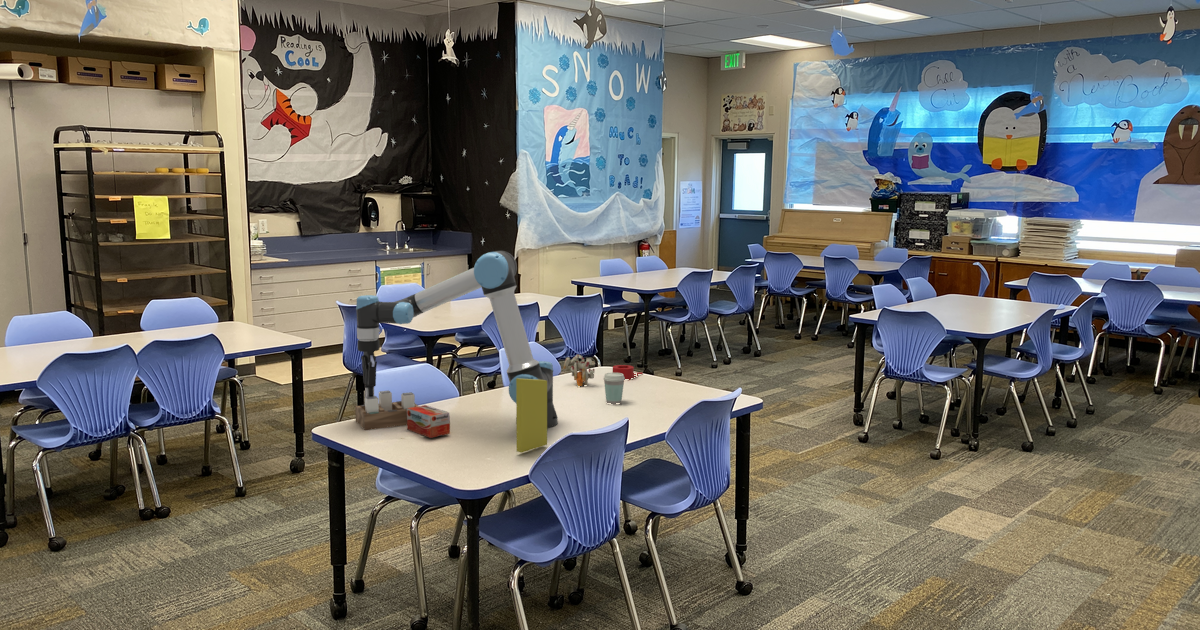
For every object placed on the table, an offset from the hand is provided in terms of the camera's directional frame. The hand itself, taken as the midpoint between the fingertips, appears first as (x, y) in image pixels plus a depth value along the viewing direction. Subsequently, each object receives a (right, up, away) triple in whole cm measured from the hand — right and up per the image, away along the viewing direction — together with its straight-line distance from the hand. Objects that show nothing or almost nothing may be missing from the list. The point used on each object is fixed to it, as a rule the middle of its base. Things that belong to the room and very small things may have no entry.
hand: (370, 404), depth 306 cm
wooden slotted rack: (+5, -7, +5) cm, 10 cm away
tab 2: (+4, -3, +7) cm, 9 cm away
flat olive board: (+60, -12, -25) cm, 66 cm away
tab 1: (+1, -4, -2) cm, 5 cm away
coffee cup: (+87, -4, +36) cm, 94 cm away
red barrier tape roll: (+95, +2, +81) cm, 125 cm away
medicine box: (+22, -9, -7) cm, 25 cm away
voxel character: (+73, 0, +62) cm, 96 cm away
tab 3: (+13, -4, +5) cm, 14 cm away
